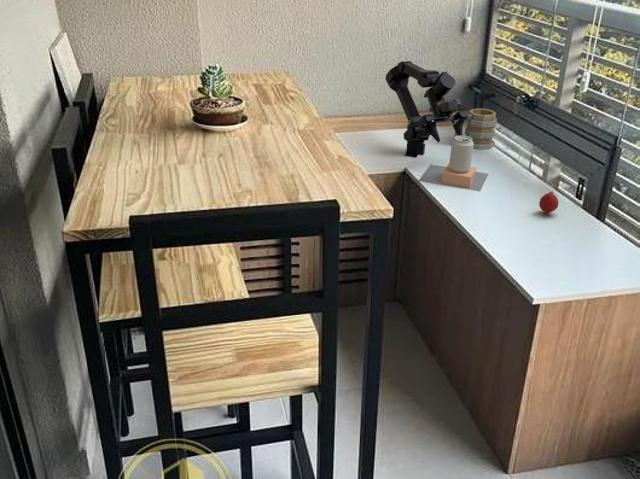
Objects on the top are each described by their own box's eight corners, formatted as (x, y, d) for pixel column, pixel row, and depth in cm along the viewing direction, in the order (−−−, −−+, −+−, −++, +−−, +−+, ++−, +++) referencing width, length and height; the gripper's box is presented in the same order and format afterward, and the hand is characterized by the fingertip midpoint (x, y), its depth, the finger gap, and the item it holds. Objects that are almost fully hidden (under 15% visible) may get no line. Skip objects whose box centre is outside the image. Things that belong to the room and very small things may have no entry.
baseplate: (418, 183, 231) (418, 180, 230) (430, 166, 246) (430, 164, 245) (479, 194, 224) (480, 191, 223) (488, 176, 238) (488, 173, 238)
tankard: (484, 138, 277) (489, 104, 270) (498, 148, 266) (504, 113, 259) (441, 141, 273) (445, 106, 266) (454, 151, 262) (458, 115, 255)
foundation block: (441, 183, 229) (442, 172, 227) (447, 173, 237) (448, 163, 235) (469, 187, 226) (470, 177, 224) (474, 178, 234) (476, 167, 232)
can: (461, 175, 225) (466, 142, 219) (444, 169, 230) (448, 137, 224) (474, 170, 230) (478, 138, 224) (456, 164, 234) (460, 132, 229)
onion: (546, 218, 207) (551, 195, 204) (533, 211, 212) (538, 189, 208) (559, 215, 210) (564, 192, 206) (546, 208, 214) (551, 186, 210)
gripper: (425, 93, 225) (438, 133, 221) (469, 88, 232) (483, 127, 228) (411, 108, 235) (424, 147, 232) (455, 104, 242) (467, 141, 238)
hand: (450, 140), depth 232 cm, fingers open, 9 cm apart
